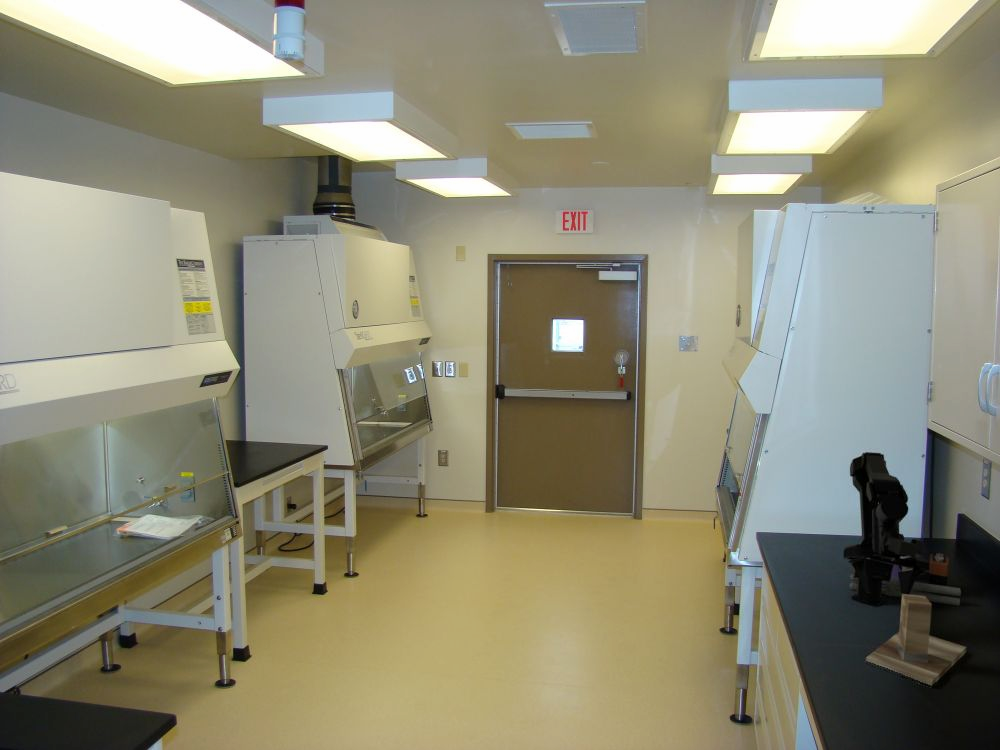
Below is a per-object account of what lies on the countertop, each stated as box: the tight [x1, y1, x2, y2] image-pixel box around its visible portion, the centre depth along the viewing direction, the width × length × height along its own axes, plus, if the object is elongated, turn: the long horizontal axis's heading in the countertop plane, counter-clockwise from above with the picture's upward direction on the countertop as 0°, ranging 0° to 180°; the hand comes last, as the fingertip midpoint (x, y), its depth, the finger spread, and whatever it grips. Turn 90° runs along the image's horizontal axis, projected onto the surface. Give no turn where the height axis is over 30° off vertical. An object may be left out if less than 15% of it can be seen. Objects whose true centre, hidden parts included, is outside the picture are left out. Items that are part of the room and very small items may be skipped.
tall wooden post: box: [897, 594, 933, 663], centre depth 163 cm, size 5×5×13 cm
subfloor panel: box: [865, 631, 967, 686], centre depth 166 cm, size 22×13×2 cm, turn 133°
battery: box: [927, 552, 950, 596], centre depth 203 cm, size 4×7×10 cm, turn 149°
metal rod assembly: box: [849, 573, 962, 607], centre depth 199 cm, size 26×3×5 cm, turn 68°
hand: (887, 596), depth 174 cm, fingers open, 9 cm apart
